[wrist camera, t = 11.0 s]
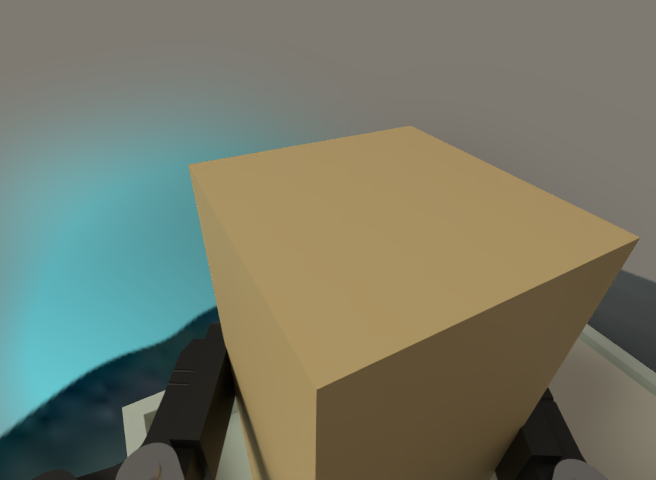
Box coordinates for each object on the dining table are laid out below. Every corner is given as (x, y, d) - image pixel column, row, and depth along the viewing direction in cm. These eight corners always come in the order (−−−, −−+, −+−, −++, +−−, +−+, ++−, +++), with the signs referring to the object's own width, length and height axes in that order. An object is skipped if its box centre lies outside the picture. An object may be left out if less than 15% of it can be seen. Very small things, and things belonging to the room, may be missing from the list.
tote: (480, 299, 29) (494, 258, 27) (738, 515, 18) (803, 478, 15) (144, 450, 20) (122, 407, 17) (244, 1125, 8) (218, 1269, 6)
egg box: (479, 319, 26) (496, 275, 24) (675, 492, 18) (731, 451, 15) (397, 358, 23) (407, 313, 21) (583, 586, 15) (634, 554, 12)
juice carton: (363, 431, 18) (410, 125, 10) (441, 558, 14) (640, 237, 6) (255, 491, 16) (188, 164, 7) (312, 659, 12) (316, 389, 4)
